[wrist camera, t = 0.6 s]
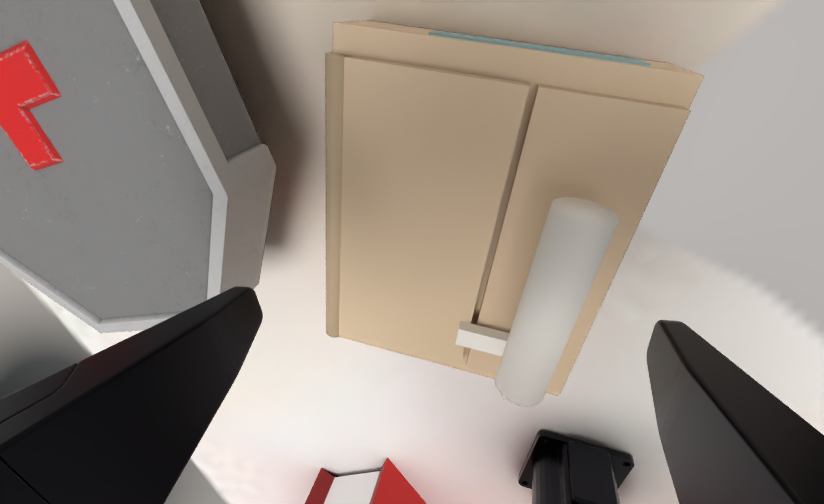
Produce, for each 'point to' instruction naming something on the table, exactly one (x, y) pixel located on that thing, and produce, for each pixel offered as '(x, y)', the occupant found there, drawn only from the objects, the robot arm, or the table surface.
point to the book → (364, 488)
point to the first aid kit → (126, 160)
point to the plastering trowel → (442, 221)
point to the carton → (553, 151)
